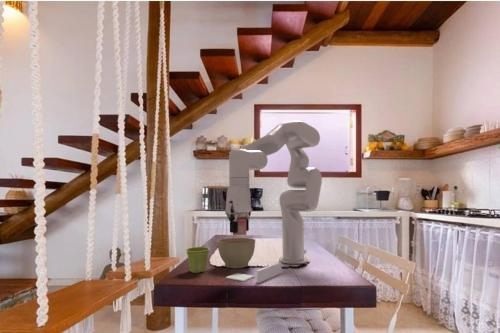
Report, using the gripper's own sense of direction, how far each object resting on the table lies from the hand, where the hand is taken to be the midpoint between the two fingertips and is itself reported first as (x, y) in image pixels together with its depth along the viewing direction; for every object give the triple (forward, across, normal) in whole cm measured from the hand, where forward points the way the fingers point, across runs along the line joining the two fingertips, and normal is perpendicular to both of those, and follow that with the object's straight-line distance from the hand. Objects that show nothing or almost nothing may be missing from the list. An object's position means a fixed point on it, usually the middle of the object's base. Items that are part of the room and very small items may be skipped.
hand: (239, 231), depth 121 cm
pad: (+17, 0, 0) cm, 17 cm away
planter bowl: (+17, -14, -12) cm, 25 cm away
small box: (+1, 0, 0) cm, 1 cm away
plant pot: (+17, +1, -20) cm, 26 cm away
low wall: (+17, -6, +9) cm, 20 cm away
